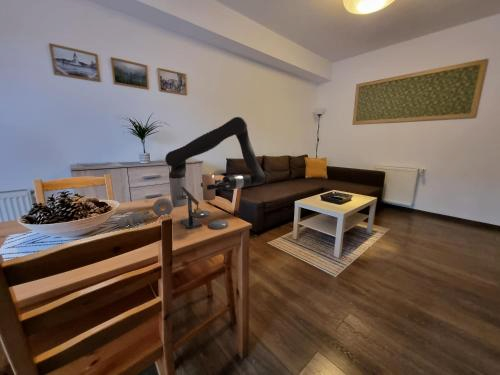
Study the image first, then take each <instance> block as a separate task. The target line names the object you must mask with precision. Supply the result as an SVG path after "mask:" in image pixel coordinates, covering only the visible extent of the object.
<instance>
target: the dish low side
mask: <svg viewBox="0 0 500 375" xmlns="http://www.w3.org/2000/svg"><path fill="white" fill-rule="evenodd" d="M208 223H209V224H208V227H209V228H210V229H213V230H222V229H226V228H227V227H229V222H228V221H227V220H225V219H216V220H211V221H210V222H208Z"/></svg>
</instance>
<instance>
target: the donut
mask: <svg viewBox="0 0 500 375" xmlns="http://www.w3.org/2000/svg"><path fill="white" fill-rule="evenodd" d="M163 205H165V207H166V208H165V209H163V210H162V209H161V208H160V207H161V206H163ZM173 210H174V206H173V203H172V202H171V199H169V198H166V197H161V198H159V199H157V200H155V202H154V203H153V205H152V211H153V212H154V213H153V214H155V215H156V216H158V217H160V216H161V215H165V214H168V216H169V215H171V214H172V212H173Z"/></svg>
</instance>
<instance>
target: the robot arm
mask: <svg viewBox="0 0 500 375" xmlns="http://www.w3.org/2000/svg"><path fill="white" fill-rule="evenodd" d="M233 136H236V139H237V140H238V143H239V147H240V150H241V153H242V154H241V155H242V158H243V161H244V164H245V167H246V169H247V170H248V171H251V172H252V173H250V174H246V173H244V174H231V175H224V176H223V178H222V179H216V178H215V185H214V184H212V185H207V190H211V189H215V190H218V191H221V190H225V191H232V190H237V189H240V188H246V187H253V186H258V185H262V184H264V183H265V182H266V174H265V172H264V171H263V169H262V167H261V166H260V165H259V163H258V159H257V156H256V154H255V151H254V149H253V147H252V143H251V141H250V137H249V131H248V125H247V122H246V121H245V119H244V118H242V117H241V116H236V117H232V118H231V119H230V120H228V121H227V122H226V123H223V124H222V125H221V126H218V127H216V128H214V129H212V130H210V131H208V132H206V133H203V134H201V136H200V135H199V136H198V137H196V138H195V139H192V140H191V141H190V142H188V143H187V144H185V145H183V146H181V147H179V148H176V149H174V150H171V151H169V152H168V153H166V155H165V158H164V160H165V163H166V164H167V165H168V166H169V167H171V168H170V171H169V173H168V176H169V177H168V178H169V188H170V201H171V202H172V203H173V207H182V206H185V205H188V200H187V199H183V200H179V199H177V198H176V197H177V196H180V195H182V190H181V187H184V188H185V189H186V190H187V183H186V181H187V180H186V173H187V160H188V159H190V158H193V157H196V156H199V155H202V154H204V153H207V152H209V151H211V150H214V148H216V147H217V146H219V145H220V144H221V143H222V142H223V141H224V140H226V139H228V138H230V137H233ZM200 188H203V187H202V182H201V183H200ZM183 195H186V194H185V193H184V192H183Z"/></svg>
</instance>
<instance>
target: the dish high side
mask: <svg viewBox="0 0 500 375" xmlns="http://www.w3.org/2000/svg"><path fill="white" fill-rule="evenodd" d="M201 211H203V212H205V215H204V216H201V217H196V218H198V219H204V218H208V217H210V216H211V215H212V214H211V211H210V210H205V209H201Z"/></svg>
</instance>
